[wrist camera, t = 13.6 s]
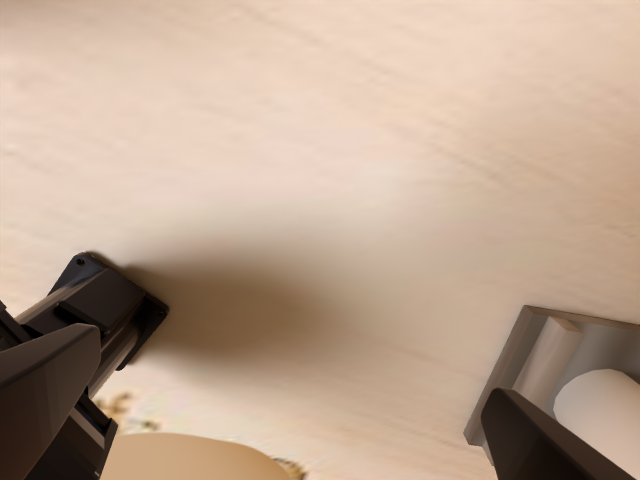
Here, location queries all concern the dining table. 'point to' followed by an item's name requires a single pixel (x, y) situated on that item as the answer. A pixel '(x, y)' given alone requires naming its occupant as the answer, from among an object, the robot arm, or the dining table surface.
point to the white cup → (604, 415)
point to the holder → (556, 358)
